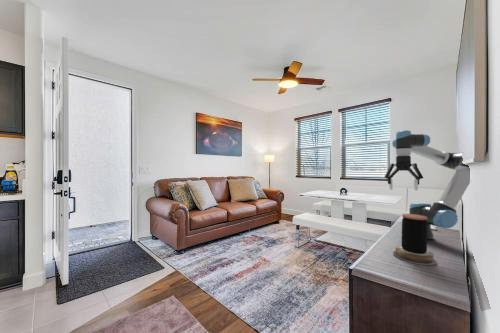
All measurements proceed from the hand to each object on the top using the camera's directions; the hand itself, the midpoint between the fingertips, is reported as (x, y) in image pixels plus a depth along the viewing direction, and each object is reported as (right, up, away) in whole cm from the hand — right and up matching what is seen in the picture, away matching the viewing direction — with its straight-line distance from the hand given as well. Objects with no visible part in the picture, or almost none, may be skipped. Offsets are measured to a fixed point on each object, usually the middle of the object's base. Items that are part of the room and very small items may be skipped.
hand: (403, 189), depth 136 cm
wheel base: (-10, -33, -22) cm, 41 cm away
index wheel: (-10, -33, -22) cm, 41 cm away
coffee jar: (-10, -29, -22) cm, 38 cm away
